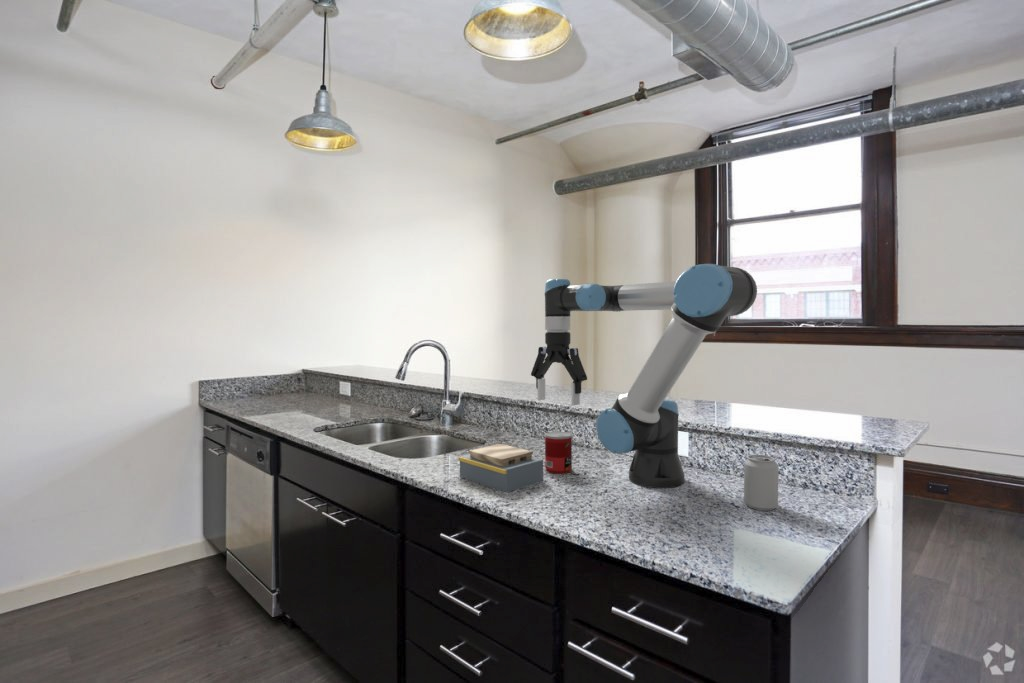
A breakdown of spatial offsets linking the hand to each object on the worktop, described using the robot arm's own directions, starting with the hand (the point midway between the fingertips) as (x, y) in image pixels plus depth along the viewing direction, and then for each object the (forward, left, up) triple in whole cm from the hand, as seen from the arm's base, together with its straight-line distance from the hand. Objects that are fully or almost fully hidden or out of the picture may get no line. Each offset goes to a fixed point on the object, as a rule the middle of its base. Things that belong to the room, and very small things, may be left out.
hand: (558, 402), depth 160 cm
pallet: (+6, +18, -15) cm, 24 cm away
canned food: (0, 0, -21) cm, 21 cm away
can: (-55, -11, -21) cm, 60 cm away
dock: (+6, +18, -21) cm, 28 cm away
